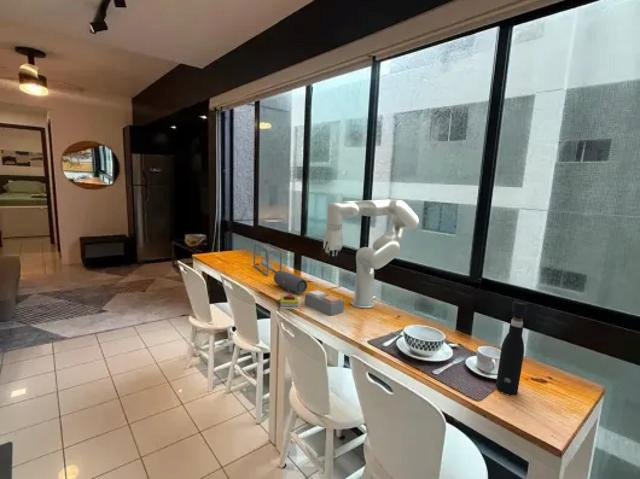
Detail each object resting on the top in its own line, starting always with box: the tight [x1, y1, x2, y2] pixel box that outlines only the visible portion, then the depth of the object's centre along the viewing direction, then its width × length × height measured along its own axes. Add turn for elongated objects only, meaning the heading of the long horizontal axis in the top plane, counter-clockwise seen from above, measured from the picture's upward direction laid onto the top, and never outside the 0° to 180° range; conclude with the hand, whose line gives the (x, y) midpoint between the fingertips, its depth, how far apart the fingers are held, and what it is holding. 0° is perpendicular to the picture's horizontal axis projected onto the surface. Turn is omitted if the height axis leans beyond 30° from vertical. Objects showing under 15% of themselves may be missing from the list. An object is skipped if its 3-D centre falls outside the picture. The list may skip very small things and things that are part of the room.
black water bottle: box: [495, 300, 528, 396], centre depth 111 cm, size 6×6×30 cm
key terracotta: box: [323, 294, 341, 303], centre depth 174 cm, size 6×6×5 cm
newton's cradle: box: [253, 243, 283, 277], centre depth 246 cm, size 30×10×18 cm, turn 28°
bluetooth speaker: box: [273, 270, 308, 294], centre depth 205 cm, size 23×9×10 cm, turn 42°
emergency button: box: [279, 294, 300, 310], centre depth 182 cm, size 9×4×15 cm
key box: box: [304, 292, 345, 317], centre depth 178 cm, size 9×19×6 cm, turn 44°
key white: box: [309, 289, 326, 298], centre depth 181 cm, size 6×6×5 cm
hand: (332, 263), depth 175 cm, fingers closed
